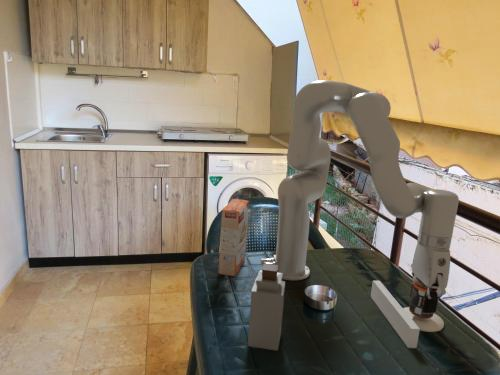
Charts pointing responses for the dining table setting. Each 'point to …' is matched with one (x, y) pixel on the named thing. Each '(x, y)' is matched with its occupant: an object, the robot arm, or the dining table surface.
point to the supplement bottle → (419, 299)
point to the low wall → (395, 314)
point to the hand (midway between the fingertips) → (422, 304)
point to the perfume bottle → (266, 309)
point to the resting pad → (427, 322)
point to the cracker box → (233, 236)
